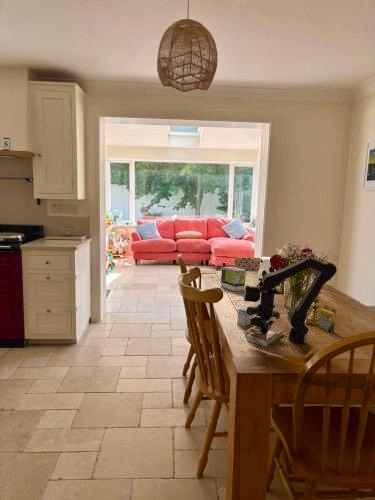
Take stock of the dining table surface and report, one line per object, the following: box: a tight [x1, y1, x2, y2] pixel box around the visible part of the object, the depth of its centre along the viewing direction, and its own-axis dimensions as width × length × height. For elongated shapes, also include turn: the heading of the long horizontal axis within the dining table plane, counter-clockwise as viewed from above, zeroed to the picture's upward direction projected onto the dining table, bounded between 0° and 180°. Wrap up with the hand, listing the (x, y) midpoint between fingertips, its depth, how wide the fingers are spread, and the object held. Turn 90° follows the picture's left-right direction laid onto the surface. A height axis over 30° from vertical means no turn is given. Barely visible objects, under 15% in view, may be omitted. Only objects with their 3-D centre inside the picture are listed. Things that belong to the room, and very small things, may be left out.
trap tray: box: [244, 325, 284, 347], centre depth 160 cm, size 12×19×3 cm, turn 143°
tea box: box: [220, 266, 247, 292], centre depth 250 cm, size 15×10×15 cm, turn 34°
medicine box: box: [236, 305, 254, 327], centre depth 176 cm, size 8×4×9 cm, turn 141°
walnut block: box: [252, 331, 267, 340], centre depth 155 cm, size 4×5×3 cm
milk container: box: [257, 256, 275, 280], centre depth 286 cm, size 17×17×18 cm
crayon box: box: [318, 304, 337, 333], centre depth 177 cm, size 7×3×12 cm, turn 29°
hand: (263, 336), depth 158 cm, fingers closed
